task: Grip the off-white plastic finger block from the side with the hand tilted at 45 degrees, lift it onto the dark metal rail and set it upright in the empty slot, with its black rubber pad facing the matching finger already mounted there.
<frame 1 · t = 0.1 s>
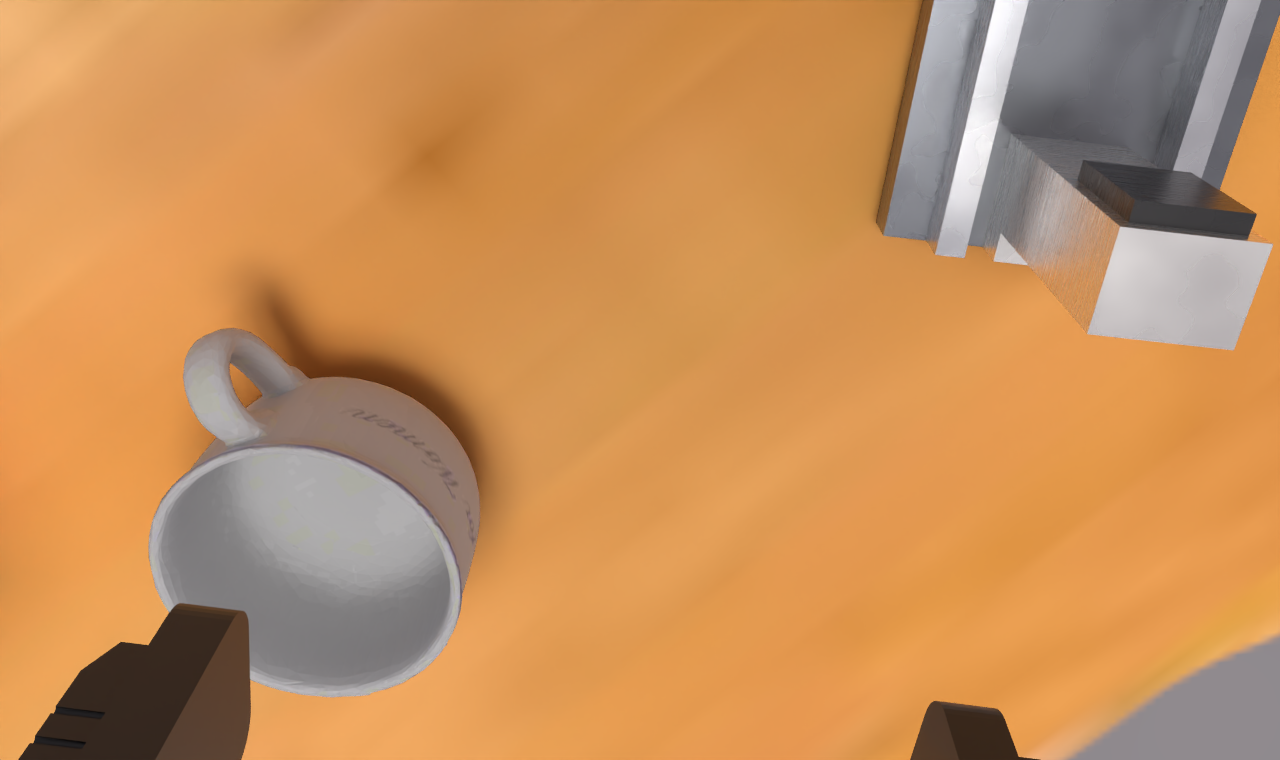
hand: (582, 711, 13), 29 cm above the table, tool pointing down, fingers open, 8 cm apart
teacup: (350, 430, 45), on the table
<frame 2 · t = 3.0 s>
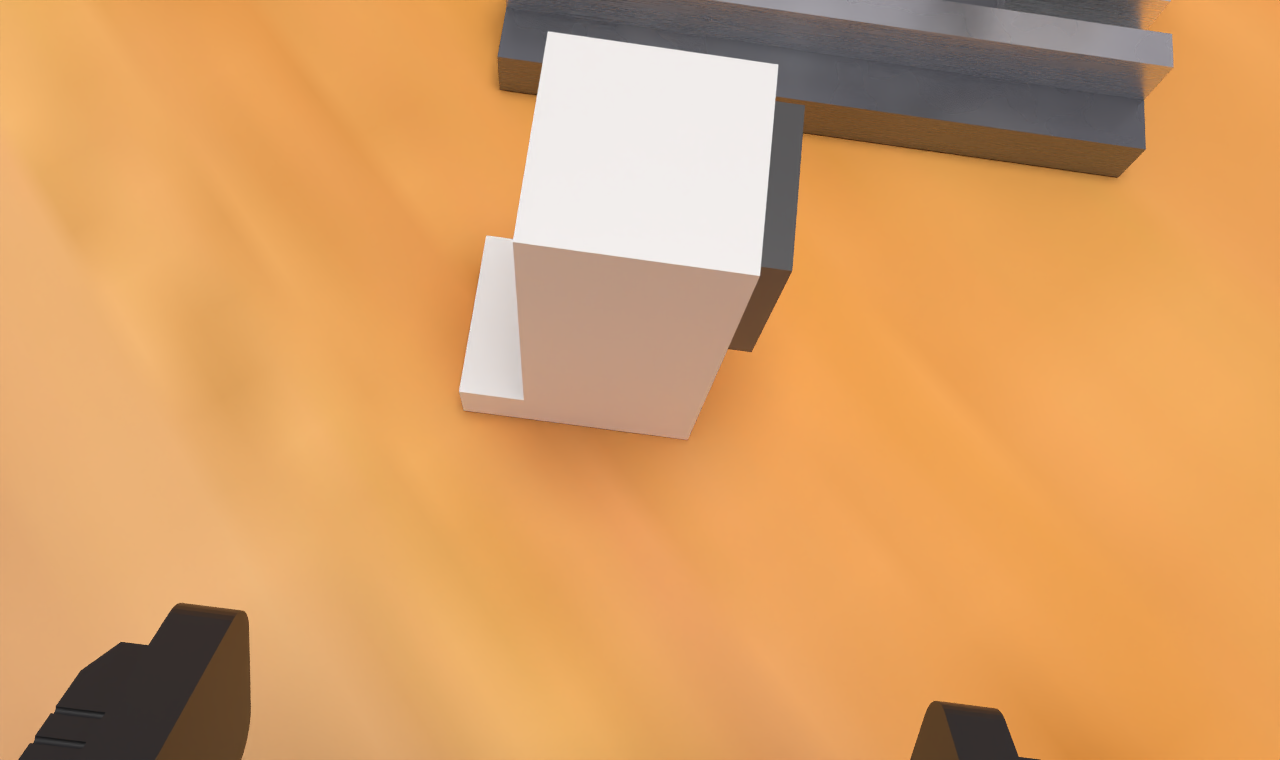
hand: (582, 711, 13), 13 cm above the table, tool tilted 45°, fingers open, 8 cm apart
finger: (616, 352, 28), on the table
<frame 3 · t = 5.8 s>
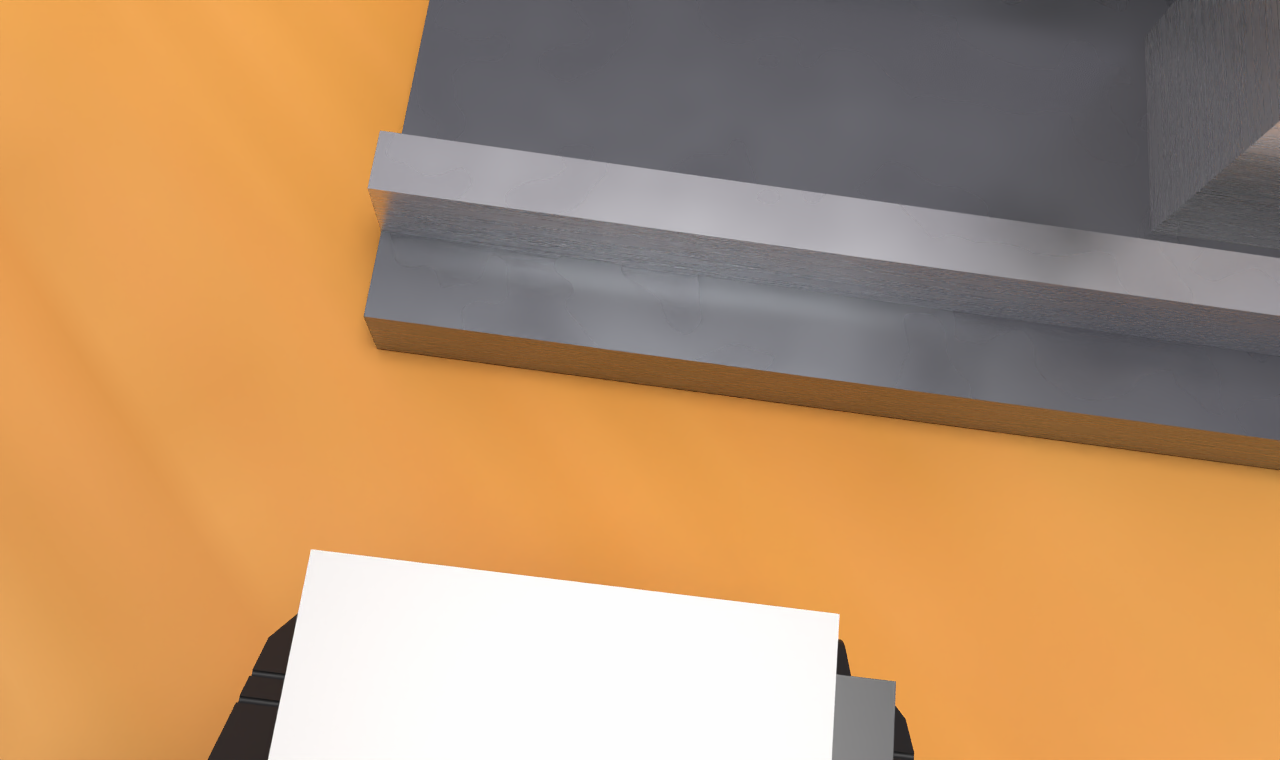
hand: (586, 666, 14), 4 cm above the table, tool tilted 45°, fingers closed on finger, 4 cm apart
rail: (877, 139, 22), on the table
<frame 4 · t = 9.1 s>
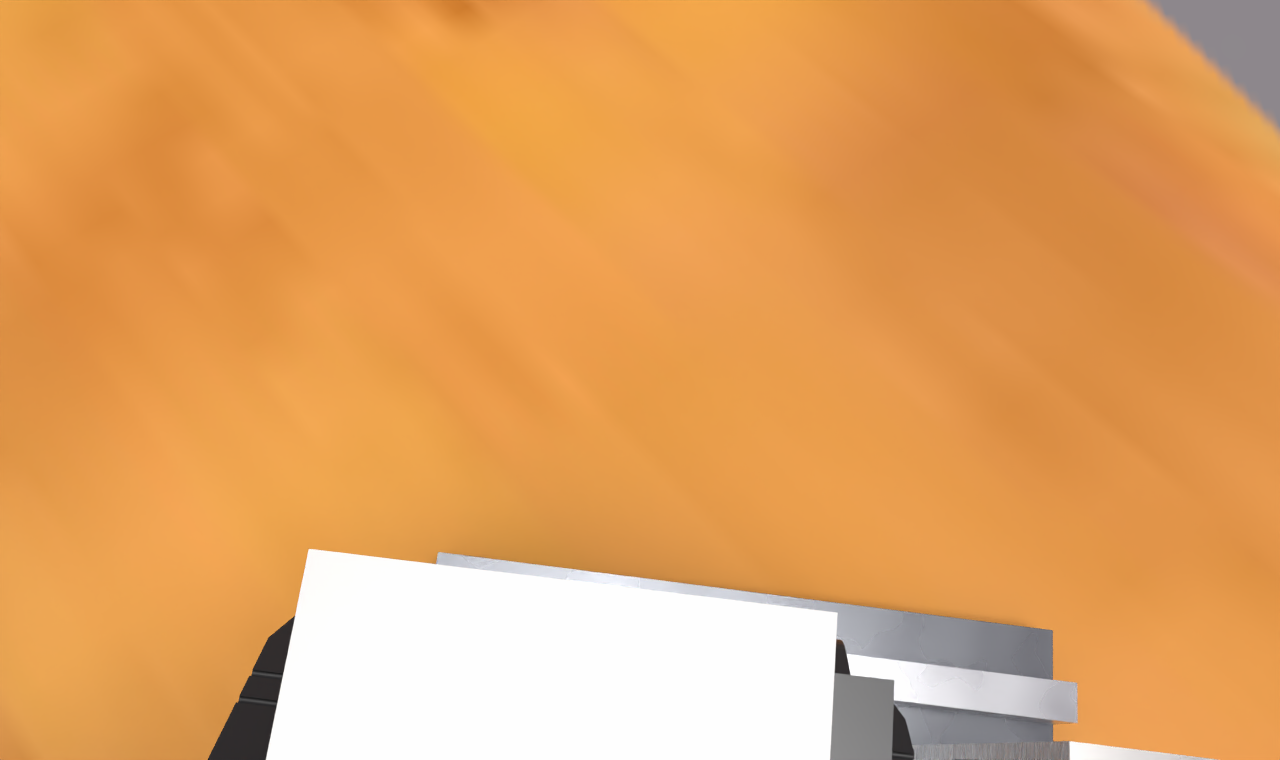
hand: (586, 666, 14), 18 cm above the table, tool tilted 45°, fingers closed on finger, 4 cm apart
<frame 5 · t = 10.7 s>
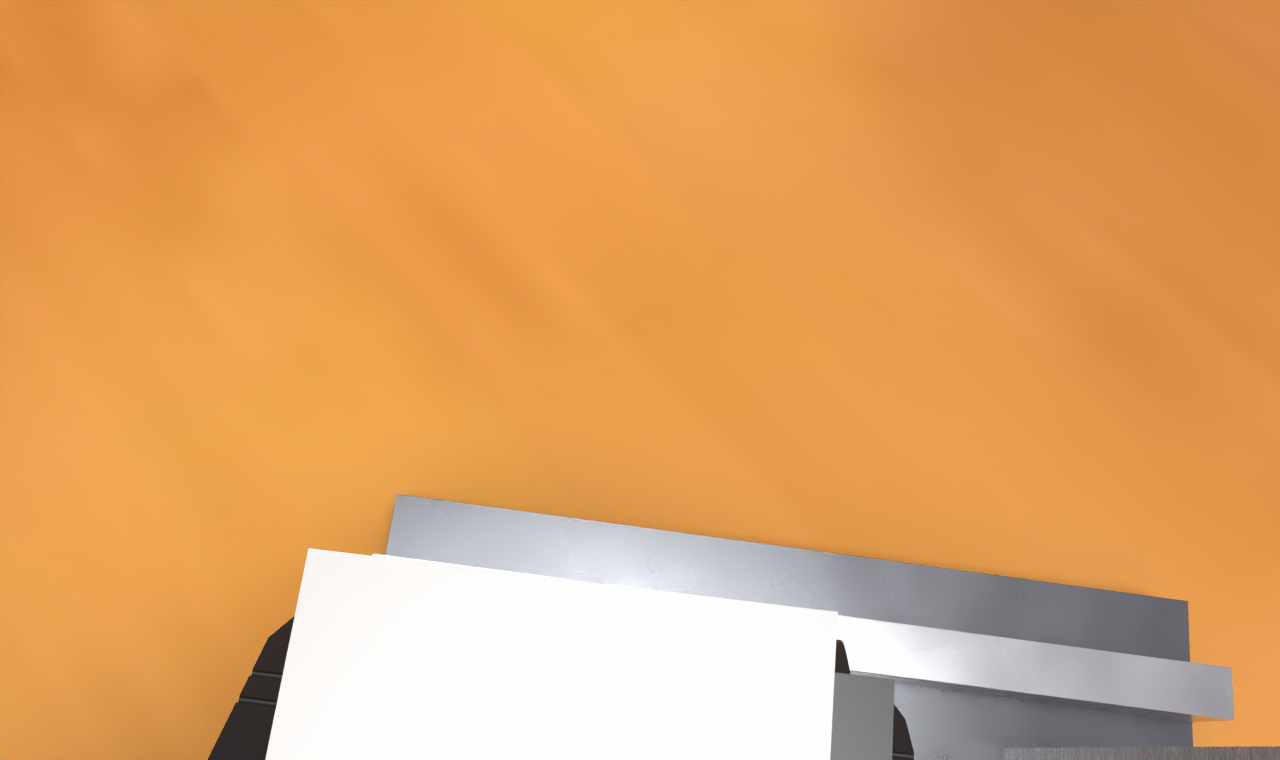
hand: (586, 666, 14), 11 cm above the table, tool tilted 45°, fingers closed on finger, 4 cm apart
when the fingers open (7 cm above the table, at t = 12.1 s): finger drops 1 cm, resting on rail.
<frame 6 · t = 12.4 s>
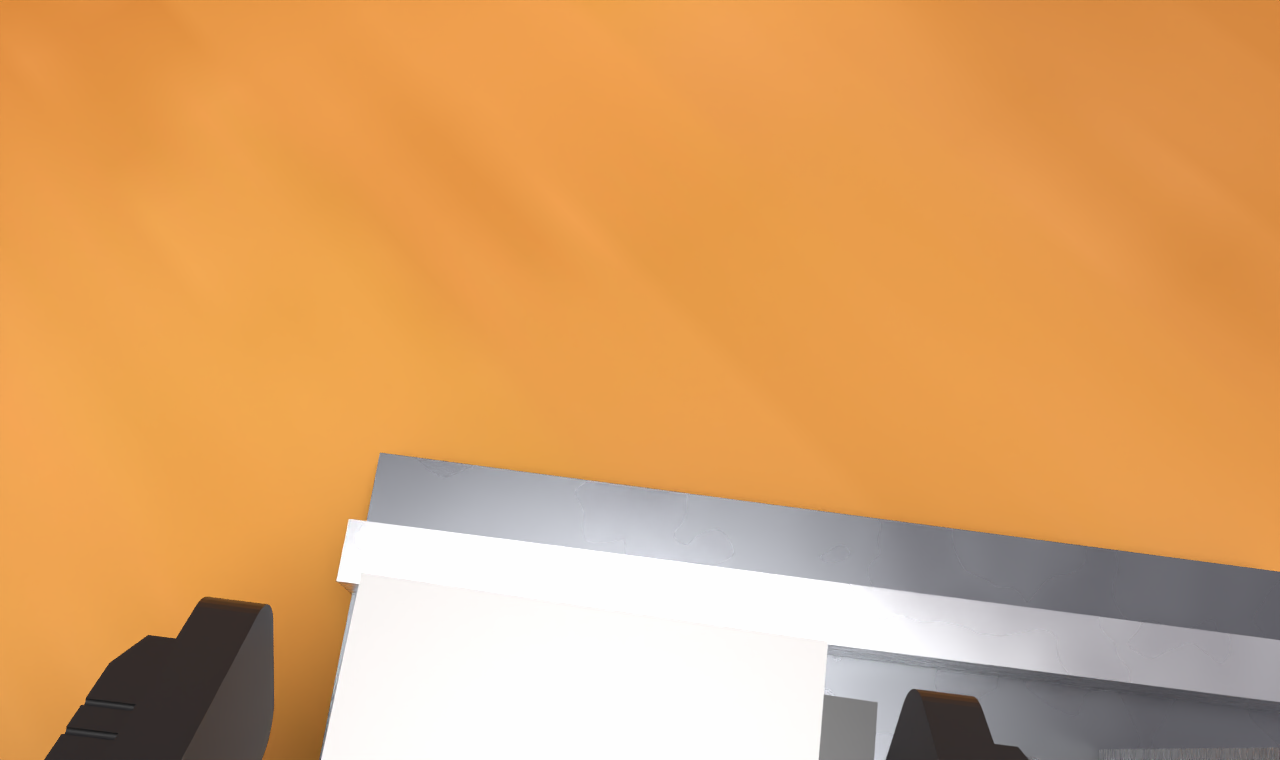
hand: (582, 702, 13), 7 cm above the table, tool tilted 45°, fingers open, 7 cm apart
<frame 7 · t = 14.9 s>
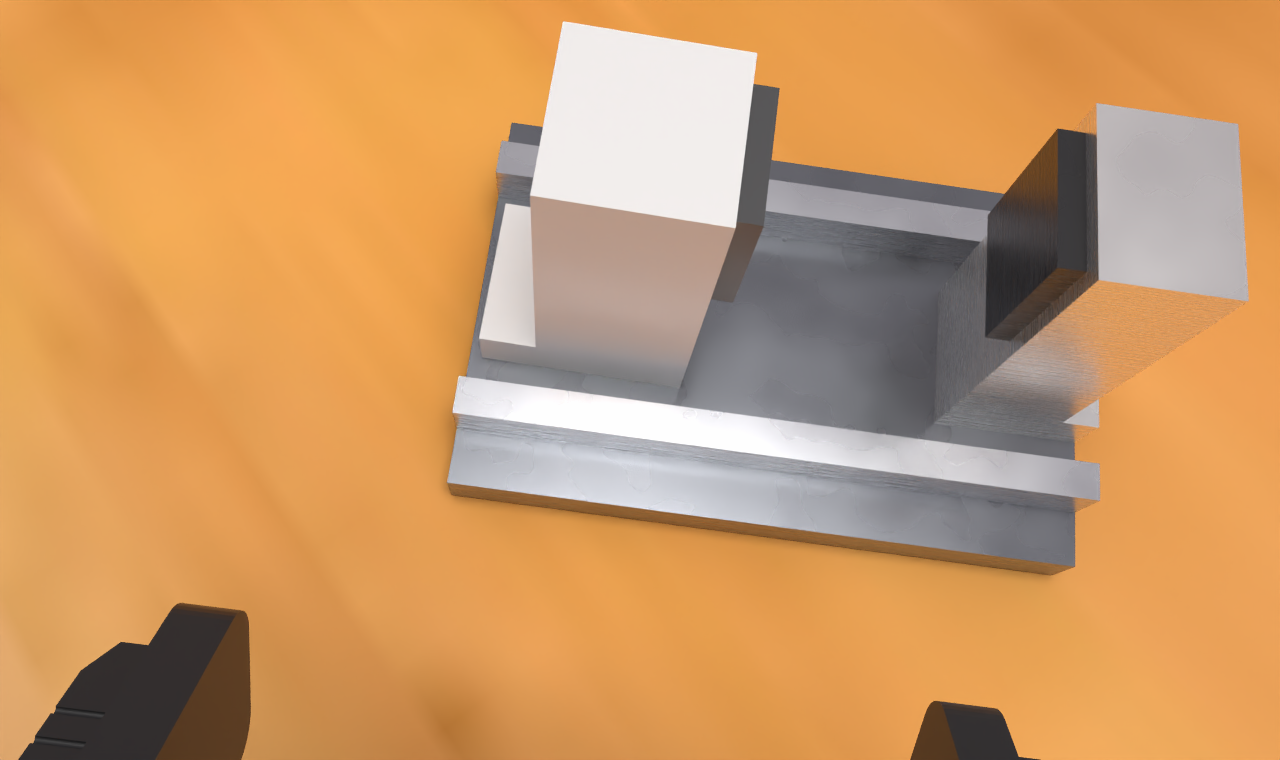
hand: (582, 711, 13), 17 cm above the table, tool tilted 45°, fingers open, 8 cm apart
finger: (618, 310, 32), point 1 cm above the table, touching rail
rail: (770, 352, 33), on the table
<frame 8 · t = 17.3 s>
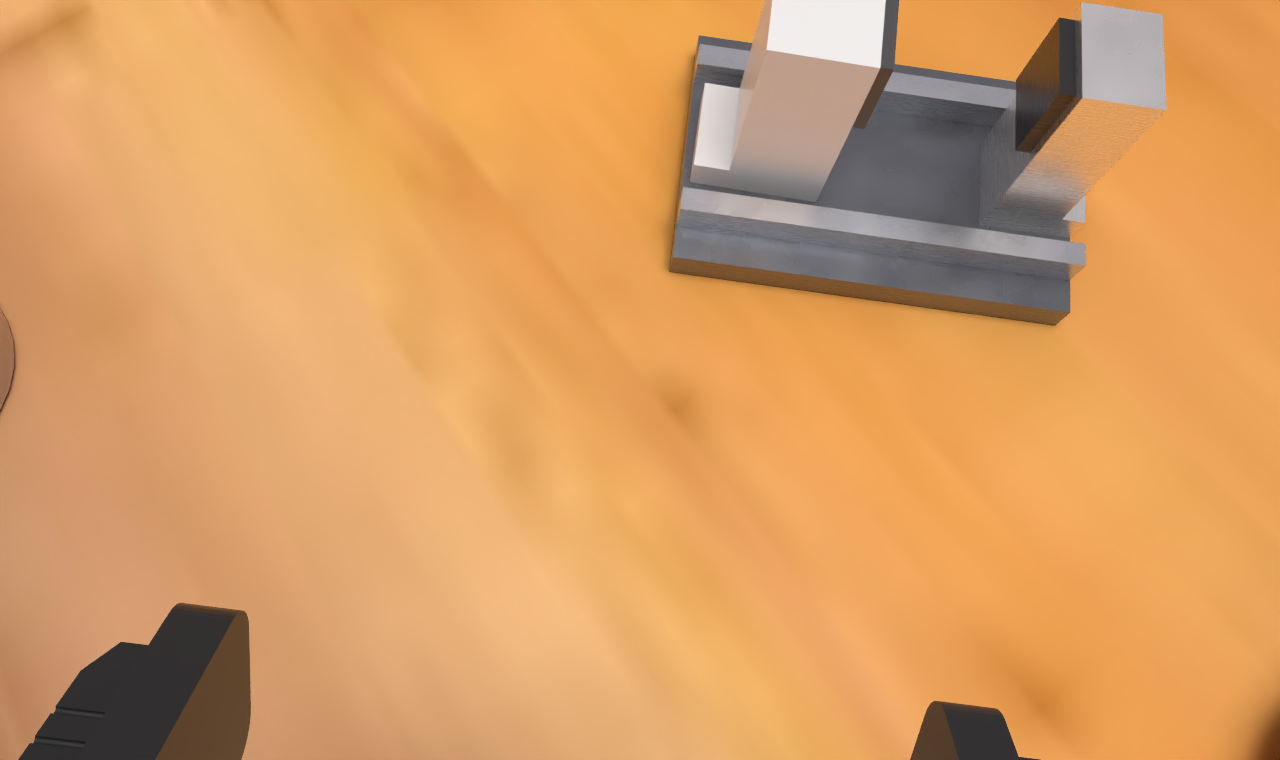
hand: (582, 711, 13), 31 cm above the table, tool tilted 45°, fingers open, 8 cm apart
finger: (774, 154, 49), point 1 cm above the table, touching rail
rail: (869, 186, 51), on the table
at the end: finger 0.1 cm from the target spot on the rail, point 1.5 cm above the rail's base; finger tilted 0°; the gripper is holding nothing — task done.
